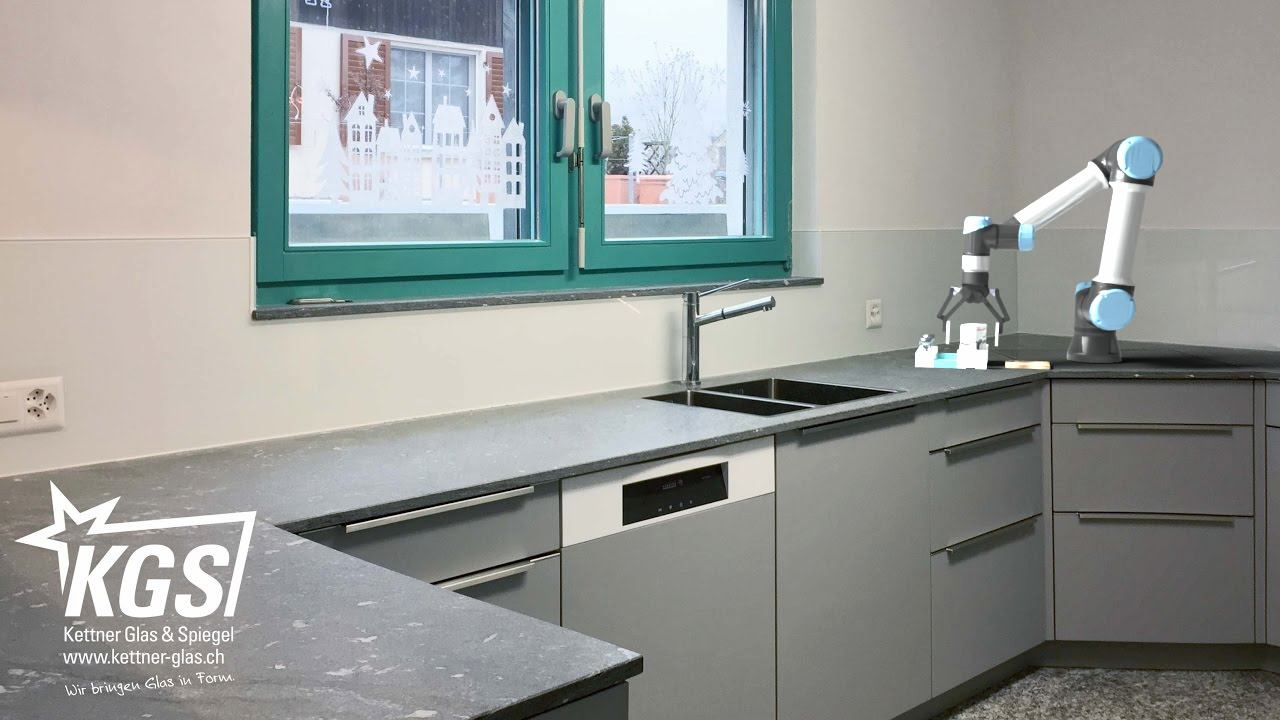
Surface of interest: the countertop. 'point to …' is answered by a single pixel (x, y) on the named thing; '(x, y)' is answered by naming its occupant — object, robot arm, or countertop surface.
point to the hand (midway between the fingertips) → (971, 344)
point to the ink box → (973, 336)
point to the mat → (1027, 364)
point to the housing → (952, 358)
